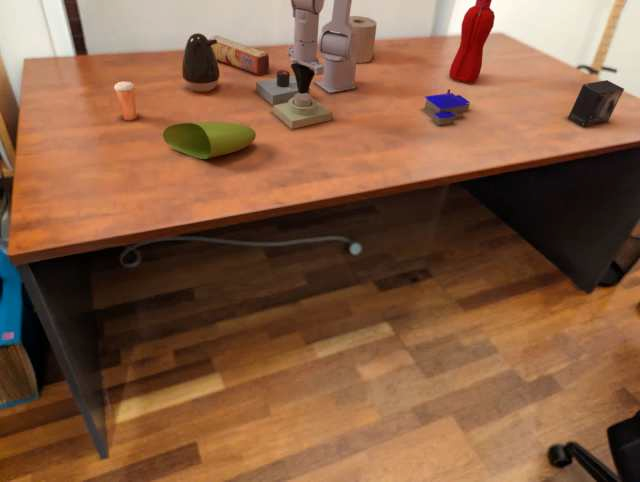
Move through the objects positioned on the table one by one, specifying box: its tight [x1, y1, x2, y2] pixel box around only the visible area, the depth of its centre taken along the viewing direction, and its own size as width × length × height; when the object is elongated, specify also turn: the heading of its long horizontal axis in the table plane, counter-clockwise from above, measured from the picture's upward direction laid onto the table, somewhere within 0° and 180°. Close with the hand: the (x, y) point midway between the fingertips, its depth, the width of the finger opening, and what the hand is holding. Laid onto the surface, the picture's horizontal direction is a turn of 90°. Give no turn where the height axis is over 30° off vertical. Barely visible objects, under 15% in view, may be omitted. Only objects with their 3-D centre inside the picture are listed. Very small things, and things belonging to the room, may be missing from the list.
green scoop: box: [162, 121, 257, 160], centre depth 113 cm, size 8×12×20 cm
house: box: [423, 88, 471, 126], centre depth 138 cm, size 11×14×6 cm
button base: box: [272, 97, 332, 130], centre depth 131 cm, size 12×10×4 cm
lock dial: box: [276, 69, 291, 87], centre depth 139 cm, size 4×4×4 cm
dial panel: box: [255, 74, 311, 106], centre depth 141 cm, size 12×10×3 cm
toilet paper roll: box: [340, 15, 377, 64], centre depth 166 cm, size 12×12×12 cm
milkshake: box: [113, 74, 138, 121], centre depth 122 cm, size 4×5×10 cm
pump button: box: [294, 93, 313, 107], centre depth 130 cm, size 5×5×2 cm
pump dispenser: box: [181, 32, 221, 93], centre depth 137 cm, size 10×10×15 cm
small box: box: [567, 79, 625, 128], centre depth 140 cm, size 11×6×10 cm, turn 117°
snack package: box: [208, 35, 270, 76], centre depth 154 cm, size 21×7×7 cm, turn 56°
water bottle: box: [449, 0, 496, 84], centre depth 153 cm, size 9×11×25 cm
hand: (303, 92), depth 128 cm, fingers closed
